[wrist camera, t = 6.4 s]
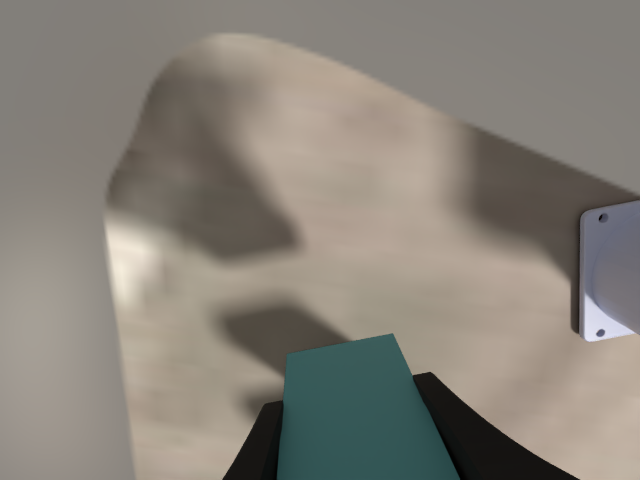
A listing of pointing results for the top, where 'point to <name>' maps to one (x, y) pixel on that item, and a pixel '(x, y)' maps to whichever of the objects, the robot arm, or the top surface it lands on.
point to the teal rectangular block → (357, 417)
